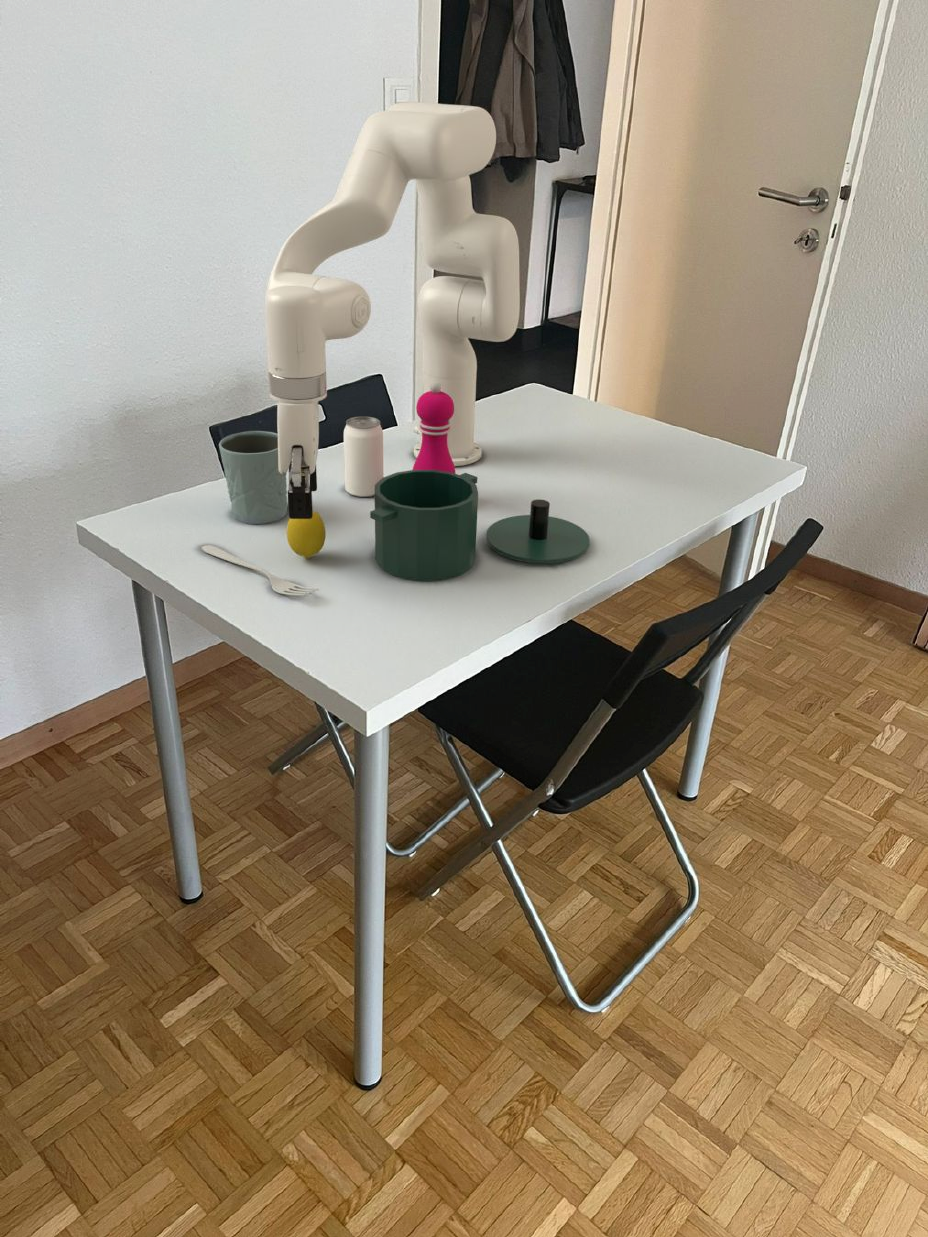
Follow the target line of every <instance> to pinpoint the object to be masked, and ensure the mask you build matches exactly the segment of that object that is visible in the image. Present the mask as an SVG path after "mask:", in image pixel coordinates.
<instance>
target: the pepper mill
mask: <svg viewBox="0 0 928 1237" xmlns="http://www.w3.org/2000/svg"><path fill="white" fill-rule="evenodd" d="M430 390H431V391H429V392H426V393H424V394H423V393H422V394H421V395H420V396H419V397H418V399H417V402H416V407H415V409H416V414H417V416H418V417H419V419H420V421H419V424H418V426H419V425H420V427H419V430H420V431H421V432H422V445H421V449H420V452H419V454H418V457H417V458H415V461H414V463H413V466H412V470H439V471H445V472H451V473H455V474H457V472H456V466H454V463H453V461H452V459H451V456H450V453H449V449H448V443H447V437H448V433H449V432H450V430H451V429H450V425H451V423H450V421H449V420H450V418H451V417H452V416H453V414H454V403H453V400H452V398H451V397H450V396H449V395H448V394H446V393H444V392H441V385H440V383H438V382H433V383H432V384H431V386H430Z"/></svg>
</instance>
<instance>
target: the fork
mask: <svg viewBox="0 0 928 1237" xmlns="http://www.w3.org/2000/svg"><path fill="white" fill-rule="evenodd" d="M201 549H202V551H203V552H204V553H207V554H209V555H211V556H214V557H217V558H220V559H222V560H224V561H228V562H230V563H233V564H236V565H239V566H240V567H241V566H242V567H245V568H248V569H252V570H254V571H258V572H260V573H262V574H264V575H265V576H266V577H267V578H268V579H269V581H270V584H271V588H272V589H273V591H274V592H275V593H278V594H280V595H281V594H282V595H285V596H286V595H287V596H297V597H301V596H302V597H306V596H307V595H311V593H315V592H316V591H319V590H320V589H319V588H315V587H308V586H304V585H300V584H297V583H294V582H291V581H288V580H284V579H281V578H279V577H277V576H276V575H274V574H273V573H271V572H270V571H268V570H267V569H264V568H261V567H259V566H257V565H254V564H252V563H249V562H248V561H245V560H243V559H241V558H239V557H237V556H235V555H233V554H231V553H229V552H227V551H225V550H223V549H221V548H219V547H218V546H214V545H209V544H208V545H207V544H206V545H204V546H202V547H201Z"/></svg>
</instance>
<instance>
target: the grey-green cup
mask: <svg viewBox="0 0 928 1237" xmlns="http://www.w3.org/2000/svg"><path fill="white" fill-rule="evenodd" d="M218 448H219V452H220V457H221V463H222V466H223V469H224V471H223V472H224V476H225V481H226V487H227V492H228V495H229V497H228V498H229V501H230V503H231V512H232V515H233V518H234V519H235V520H236V521H237V522H238V521H239V522H241V523H244V524H249V525H266V524H270V523H271V524H272V523H275V522H278V521H279V520H282V519H284V517H286V515H287V513H288V490H287V487H288V485H287V483H288V482H287V475H288V474H287V473H288V472H287V473H285V472H284V474H281V473H280V472H279V469H278V432H277V433H276V432H273V431H263V430H248V431H241V432H236V433H232V434H230V435H227V436H225V437H224V438H221V440H220V441H219V443H218Z"/></svg>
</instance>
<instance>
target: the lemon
mask: <svg viewBox="0 0 928 1237" xmlns="http://www.w3.org/2000/svg"><path fill="white" fill-rule="evenodd" d="M326 534H327V533H326V527H325V523H324V520H323V518H322V516H321V515H320V514H319V513H318V512H317V511H315V510H313V516H312V518H311V519H291V518H288V521H287V526H286V540H287V543H288V545H289V547H290V549H291V550H292V551H293V553H295V554H296V555H298V556H301V557H304V558H305V559H307V560H308V559H310V558H311V557H312V556H315V555H317V554H318V553H320V551H321V550H322V549H323V547H324V546H325V542H326V537H327V536H326Z"/></svg>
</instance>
